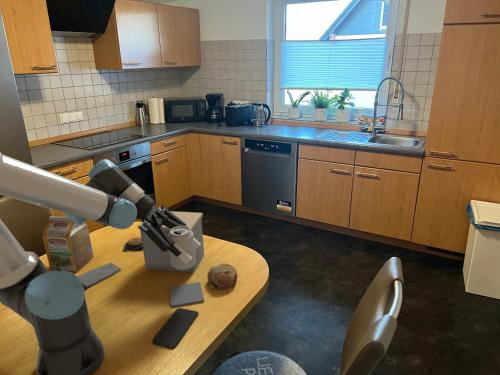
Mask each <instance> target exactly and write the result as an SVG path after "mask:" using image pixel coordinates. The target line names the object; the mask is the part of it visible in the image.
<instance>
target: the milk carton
mask: <svg viewBox="0 0 500 375" xmlns="http://www.w3.org/2000/svg"><path fill="white" fill-rule="evenodd" d="M48 220H49V221H48V222H47V224H46V226H45V228H44V229H43V232H42V235H41V237H42V241H43V245H44V249H45V253H46V259H47V261H48V266H49V271H50V272H52V271H58V272H61V271H67V272H71V273H73V274H77V273H79V272H80V271H81V270H83V268H85V266H86V265H87V264H88V263H90V262H91V261H92V260H93V259H94V258H95V256H94V252H93V247H92V241H91V236H90V230H89V226H88V223H86V221H85V222H83V223H82V224H76V223H74V222H73V221H71V220H70V219H69V218H68V217H67V216H56V215H55V216H51V215H50V216H49V219H48Z"/></svg>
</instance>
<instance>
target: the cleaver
mask: <svg viewBox="0 0 500 375" xmlns="http://www.w3.org/2000/svg"><path fill="white" fill-rule="evenodd" d="M120 271H122V268H120V267H119V266H117V265H116V264H114V263H112V262H108V263H106V264H103V265H100V266H97V267H96V268H93V269H90V270H88V271H86V272H84V273H81V274H80V275H77V277H78V278H79V279H80V281H81V284H82V286H83V288H84V291H87V289H88V288H90V287H92V286H94V285H96V284H98V283H100V282H102V281H104V280H106V279H108V278H110V277H112V276H114V275H115V274H117V273H119V272H120Z"/></svg>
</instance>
